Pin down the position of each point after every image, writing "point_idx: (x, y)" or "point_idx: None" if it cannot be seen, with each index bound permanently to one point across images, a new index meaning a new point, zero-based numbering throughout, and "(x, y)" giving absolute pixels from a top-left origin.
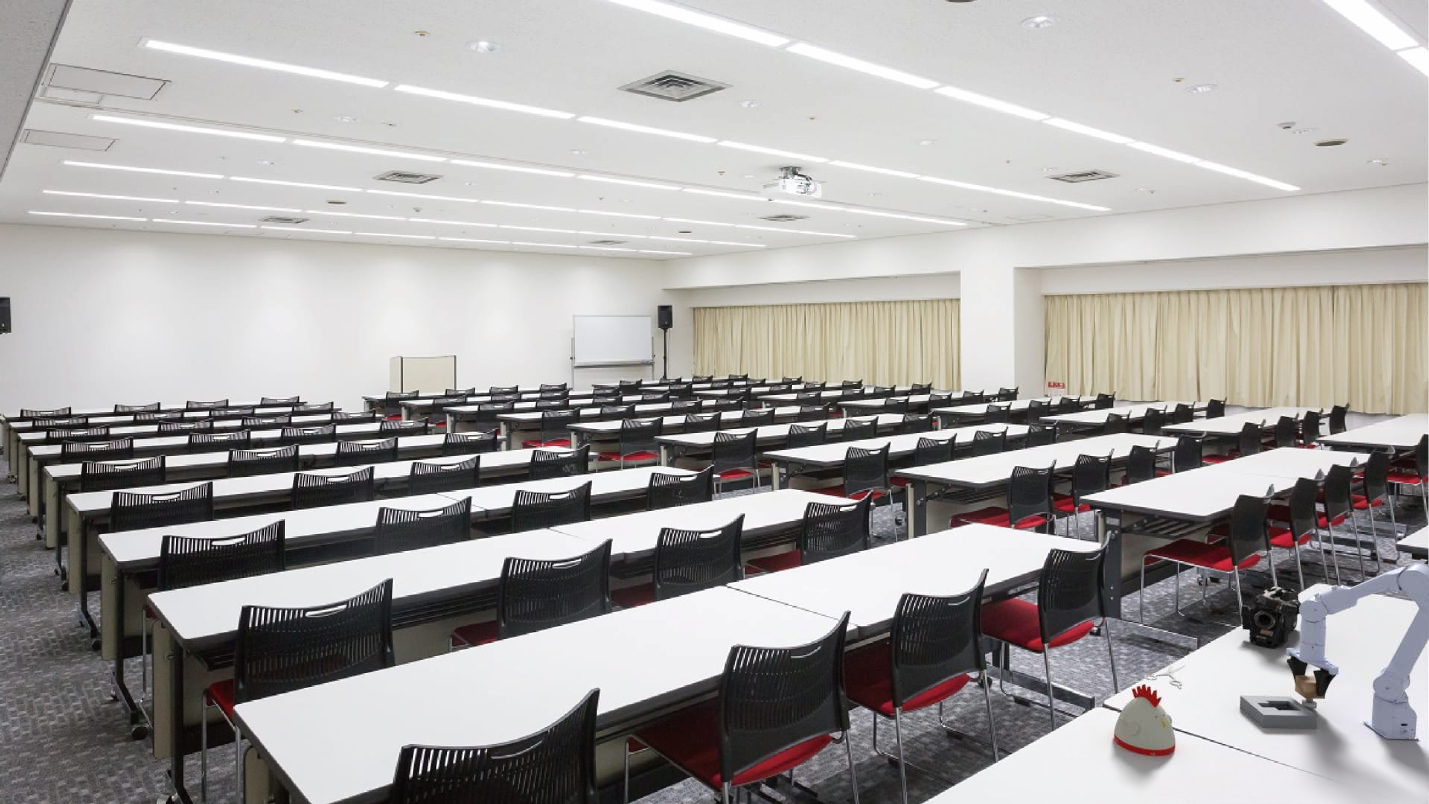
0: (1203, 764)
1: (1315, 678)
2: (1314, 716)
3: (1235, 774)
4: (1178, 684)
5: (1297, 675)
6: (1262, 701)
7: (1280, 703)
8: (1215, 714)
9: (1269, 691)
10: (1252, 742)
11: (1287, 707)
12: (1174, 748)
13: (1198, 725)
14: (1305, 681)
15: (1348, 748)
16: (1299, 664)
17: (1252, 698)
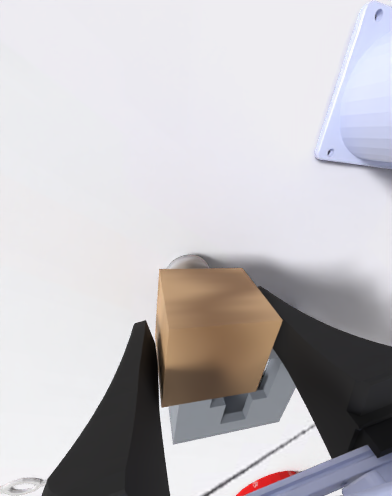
0: (326, 453)
1: (307, 404)
2: None
3: None
4: (36, 484)
5: (163, 402)
6: (214, 414)
7: None
8: (198, 439)
9: (29, 323)
10: (303, 411)
11: None
12: (292, 474)
13: (235, 456)
14: (241, 390)
15: (383, 291)
16: (158, 482)
17: (193, 427)
